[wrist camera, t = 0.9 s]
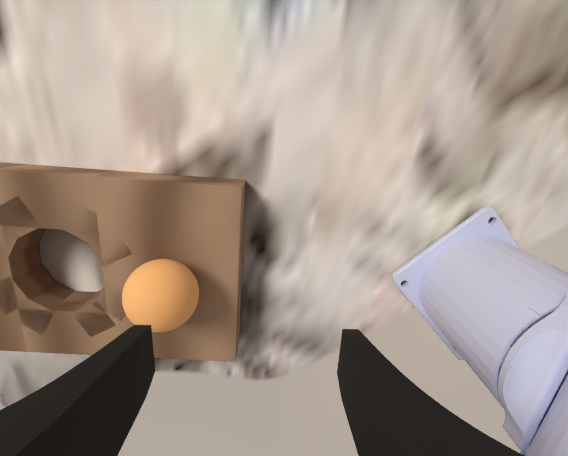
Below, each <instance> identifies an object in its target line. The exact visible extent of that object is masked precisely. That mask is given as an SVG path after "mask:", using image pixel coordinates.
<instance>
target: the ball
mask: <svg viewBox="0 0 568 456" xmlns="http://www.w3.org/2000/svg"><path fill="white" fill-rule="evenodd" d="M198 299H199V287H198V283H197V280H196V278H195V276H194V275H193V273H192V272H191V271H190V270H189V268H187V267H186V266H185V265H183V264H182V263H180V262H177V261H174V260H170V259H157V260H152V261H149V262H147V263H144V264H143V265H141V266H139V267H138V268H137V269H136V270H134V271H133V272H132V274H131V275H130V276H129V278H128V279H127V281H126V283H125V285H124V288H123V292H122V305H123V309H124V311H125V314H126V316H127V317H128V319H129V320H130V321H131V322H132V323H133V324H134V325H151V328H152V332H166V331H170V330H173V329H175V328H177V327H179V326H181V325H182V324H183V323H185V322H186V321H187V320H188V319H189V318H190V317H191V315H192V314H193V312H194V310H195V309H196V306H197V303H198Z"/></svg>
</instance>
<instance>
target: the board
mask: <svg viewBox="0 0 568 456" xmlns="http://www.w3.org/2000/svg"><path fill="white" fill-rule="evenodd" d="M245 184H246V180H235V179H221V178H207V177H193V176H179V175H166V174H152V173H138V172H124V171H110V170H96V169H83V168H69V167H55V166H41V165H27V164H13V163H0V350H3V351H24V352H45V353H66V354H86V355H93V354H94V353H96V352H97V351H99V350H100V349H101V348H103V347H104V346H106V345H107V344H108V343H110V342H111V341H112V340H114V339H115V338H116V337H118V336H119V335H121V334H122V333H123V332H125V331H126V330H128V329H129V328H130V327H132V326H133V325H134V324H133V323H132V322H131V321H130V320H129V319H128V317H127V316H126V314H125V311H124V309H123V305H122V292H123V288H124V285H125V283H126V281H127V279H128V278H129V276H130V275H131V274H132V272H133V271H134V270H136V269H137V268H138V267H139V266H141V265H143V264H144V263H147V262H149V261H152V260H157V259H170V260H174V261H177V262H180V263H182V264H183V265H185V266H186V267H187V268H189V270H190V271H191V272H192V273H193V275H194V276H195V278H196V280H197V283H198V287H199V299H198V303H197V306H196V309H195V310H194V312H193V314H192V315H191V317H190V318H189V319H188V320H187V321H186V322H185V323H183V324H182V325H181V326H179V327H177V328H175V329H173V330H170V331H166V332H152V339H153V350H154V358H169V359H190V360H211V361H231V362H235V360H236V354H237V349H238V343H239V336H240V310H241V285H242V260H243V234H244V209H245ZM45 229H60V230H65V231H67V232H68V233H70V234H72V235H74V236H76V237H77V238H79V239H81V240H83V241H85V242H86V243H88V245H89V246H90V248H91V249H92V250H93V252H94V253H95V255H96V256H97V257H98V259H99V260H100V261H101V263H102V269H103V278H104V287H103V288H102V290H100V291H98V292H82V291H74V290H72V289H70V288H68V287H66V286H64V285H62V284H60V283H59V282H57V281H55V280H54V279H53V277H52V276H51V275H50V274H49V272H48V271H47V270H46V268H45V267H44V266H43V265H42V263H41V257H40V251H39V245H38V243H39V241H40V239H41V236H42V234H43V232H44V230H45Z"/></svg>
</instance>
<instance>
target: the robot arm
mask: <svg viewBox="0 0 568 456" xmlns="http://www.w3.org/2000/svg"><path fill="white" fill-rule="evenodd" d="M491 217H492V218H493V219H492V221H491V222H490V223H489V222H488V221H489V219H490V218H491ZM392 280H393V282H394V283H395V284H396V286H397V287H398V288H399V289H400V290H401V291H402V293H403V294H404V295H405V296H406V297H407V299H408V300H409V301H410V302H411V303H412V305H413V306H414V307H415V308H416V309H417V311H418V312H419V313H420V314H421V315H422V317H423V318H424V319H425V320H426V321H427V322H428V324H429V325H430V326H431V327H432V328H433V330H434V331H435V332H436V333H437V334H438V336H439V337H440V338H441V339H442V340H443V342H444V343H445V344H446V345H447V346H448V348H449V349H450V350H451V351H452V352H453V354H454V355H455V356H456V357H457V358H458V359H460V360H465V361H466V362H467V363H468V365H469V366H470V367H471V368H472V370H473V371H474V372H475V373H476V375H477V376H478V377H479V378H480V380H481V381H482V382H483V383H484V384H485V386H486V387H487V388H488V389H489V391H490V392H491V393H492V394H493V396H494V397H495V398H496V399H497V401H498V402H499V403H500V404H501V406H502V407H503V408H504V410H505V415H506V417H505V422H504V425H503V428H504V429H505V430H506V432H507V433H508V434H509V436H510V437H511V438H512V440H513V441H514V442H515V444H516V445H517V446H518V448H519V449H520V450H521V452H520V453H518V452H516V451H514V450H512V449H511V448H509V447H507V446H505V445H503V444H502V443H500V442H498V441H496V440H495V439H493V438H491V437H489V436H488V435H486V434H484V433H482V432H481V431H479V430H478V429H476V428H474V427H473V426H471V425H470V424H468V423H467V422H465V421H464V420H462V419H460V418H459V417H458V416H456V415H454V414H453V413H451V412H450V411H449V410H447V409H446V408H444V407H443V406H442V405H440V404H439V403H438V402H436V401H435V400H434V399H432V398H431V397H430V396H428V395H427V394H426V393H424V392H423V391H422V390H421V389H420V388H418V387H417V386H416V385H415V384H414V383H412V382H411V381H410V380H409V379H408V378H407V377H406V376H404V375H403V374H402V373H401V372H400V371H399V370H398V369H397V368H396V367H395V366H394V365H393V364H392V363H390V361H389V360H387V358H385V357H384V356H383V355H382V354H381V352H380V351H378V350H377V348H376V347H375V346H373V344H372V343H371V342H370V341H369V340H368V339H367V338H366V337H365V336H364V335H363V334H362V333H361V332H360V331H359V330H358V329H343V330H342V338H341V346H340V355H339V363H338V371H337V374H338V381H339V387H340V392H341V397H342V401H343V405H344V408H345V412H346V415H347V419H348V422H349V425H350V429H351V432H352V435H353V439H354V442H355V445H356V448H357V452H358V455H359V456H568V273H567V272H565V271H563V270H561V269H559V268H557V267H555V266H553V265H551V264H549V263H547V262H545V261H543V260H541V259H539V258H537V257H535V256H533V255H531V254H529V253H527V252H525V251H523V250H521V249H520V247H519V246H518V244H517V243H516V241H515V240H514V238H513V237H512V235H511V234H510V232H509V231H508V229H507V228H506V226H505V225H504V223H503V222H502V220H501V219H500V217H499V216H498V214H497V213H496V211H495V210H494V209H493V208H490V207H483V208H482V209H480V210H479V211H477V212H476V213H475V214H473V215H472V216H471V217H469V218H468V219H466V220H465V221H464V222H462V223H461V224H460V225H458V226H457V227H456V228H454V229H453V230H451V231H450V232H449V233H447V234H446V235H445V236H443V237H442V238H440V239H439V240H438V241H436V242H435V243H434V244H432V245H431V246H430V247H428V248H427V249H425V250H424V251H423V252H421V253H420V254H419V255H417V256H416V257H414V258H413V259H412V260H410V261H409V262H408V263H406V264H405V265H403V266H402V267H401V268H399V269H398V270H397V271H395V272H394V273H393V275H392ZM404 280H405V281H406V283H405V284H403V285H401V282H402V281H404ZM154 372H155V362H154V350H153V339H152V328H151V325H133V326H132V327H130V328H129V329H128V330H126V331H125V332H123V333H122V334H121V335H119V336H118V337H116V338H115V339H114V340H112V341H111V342H110V343H108V344H107V345H106V346H104V347H103V348H101V349H100V350H99V351H97V352H96V353H94V354H93V355H92V356H90V357H89V358H87V359H86V360H84V361H83V362H81V363H80V364H78V365H77V366H75V367H74V368H72V369H71V370H69V371H68V372H66V373H65V374H63V375H62V376H60V377H59V378H57V379H56V380H54V381H52V382H51V383H49V384H47V385H46V386H44V387H42V388H41V389H39V390H37V391H35V392H34V393H32V394H30V395H28V396H27V397H25V398H23V399H21V400H19V401H17V402H16V403H14V404H12V405H10V406H8V407H6V408H4V409H2V410H0V456H117V455H118V453H119V451H120V449H121V447H122V445H123V443H124V441H125V439H126V437H127V435H128V433H129V431H130V429H131V427H132V425H133V422H134V421H135V419H136V417H137V415H138V413H139V411H140V408H141V406H142V404H143V402H144V400H145V398H146V395H147V393H148V390H149V387H150V384H151V381H152V378H153V375H154Z"/></svg>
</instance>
